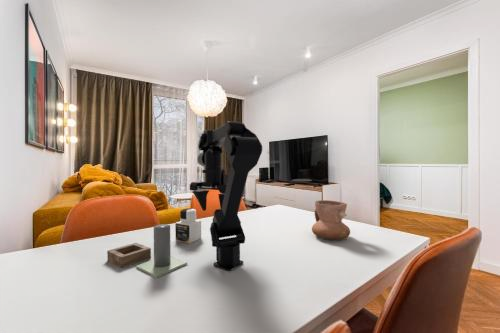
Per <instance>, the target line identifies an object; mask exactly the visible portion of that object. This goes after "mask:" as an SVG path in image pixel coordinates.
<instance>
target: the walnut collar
mask: <svg viewBox="0 0 500 333" xmlns="http://www.w3.org/2000/svg"><path fill="white" fill-rule="evenodd" d="M151 251H152V248H151V247H149V246H146V245H143V244H141V243H138V242H134V243H129V244H127V245H123V246H120V247H115V248H113V249H109V250H107V252H106V253H107V261H108V262H110V263H111V264H114V265H115V266H117V267H118V268H120V269H121V268H125V267H128V266H131V265H134V264H137V263H140V262H142V261H145V260H148V259H151V258H152V252H151Z"/></svg>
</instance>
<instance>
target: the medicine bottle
mask: <svg viewBox="0 0 500 333" xmlns="http://www.w3.org/2000/svg"><path fill="white" fill-rule="evenodd" d="M174 228H175V229H174V230H175V241H176V242H181V243H186V244H191V243H193V242H196V241H198V240H200V239H202V220H201V219H200V220H199V219H197V210H196V209H195V208H192V207H191V208H190V207H189V208H183V209H181V210H180V221H176V222H175V227H174Z"/></svg>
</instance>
